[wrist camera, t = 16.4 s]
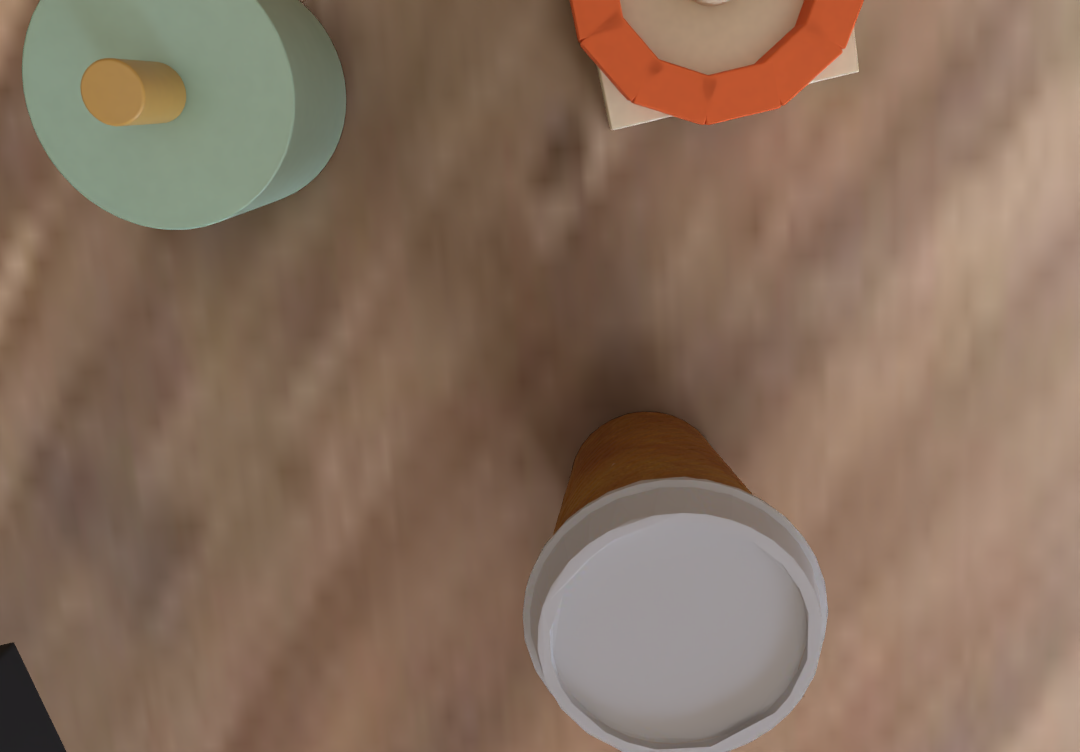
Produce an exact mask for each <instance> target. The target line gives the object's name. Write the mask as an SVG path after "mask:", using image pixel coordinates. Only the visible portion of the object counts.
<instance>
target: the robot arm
mask: <svg viewBox="0 0 1080 752" xmlns="http://www.w3.org/2000/svg"><path fill="white" fill-rule="evenodd" d="M0 752H66V750H65V748H64V746H63V744H62V742H61V740H60V738H59V735H58V733H57V731H56V729H55V727H54V725H53V723H52V721H51V719H50V717H49V715H48V713H47V711H46V708H45V706H44V704H43V702H42V700H41V698H40V696H39V694H38V692H37V690H36V688H35V686H34V683H33V681H32V679H31V677H30V675H29V673H28V671H27V669H26V667H25V665H24V663H23V661H22V658H21V656H20V654H19V652H18V650H17V648H16V646H15V644H14V642H13V643H9V644H4V645H0Z"/></svg>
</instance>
